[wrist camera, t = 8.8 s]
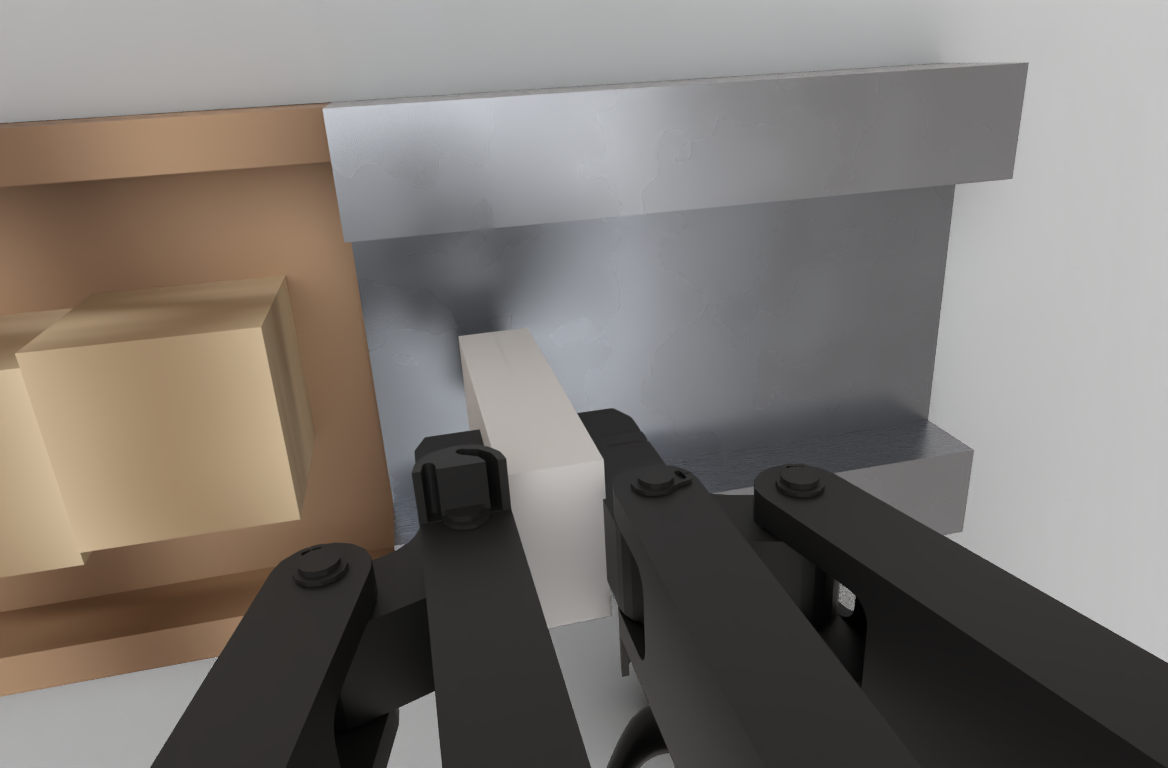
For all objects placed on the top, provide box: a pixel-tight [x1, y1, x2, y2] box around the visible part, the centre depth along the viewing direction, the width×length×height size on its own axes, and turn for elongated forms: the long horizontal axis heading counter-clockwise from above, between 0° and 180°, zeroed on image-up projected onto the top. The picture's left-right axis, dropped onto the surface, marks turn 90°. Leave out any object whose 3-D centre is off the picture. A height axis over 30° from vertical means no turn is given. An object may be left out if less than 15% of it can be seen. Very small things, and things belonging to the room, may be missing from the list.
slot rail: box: [323, 63, 1028, 597], centre depth 20 cm, size 15×12×3 cm
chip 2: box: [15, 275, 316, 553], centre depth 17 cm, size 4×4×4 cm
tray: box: [0, 102, 395, 697], centre depth 18 cm, size 12×12×2 cm
